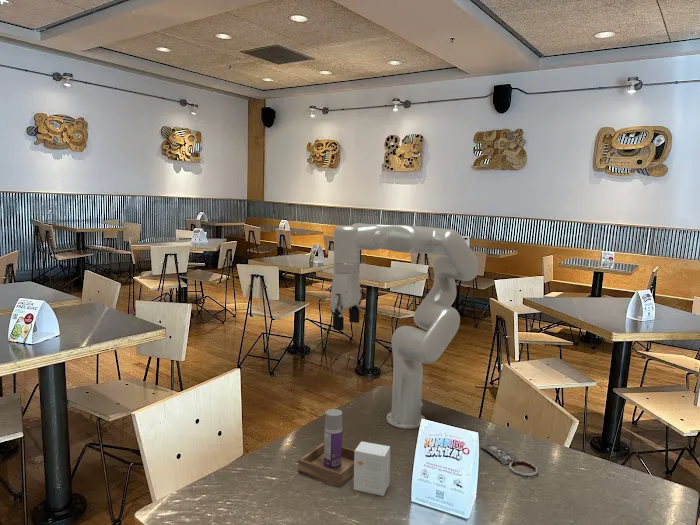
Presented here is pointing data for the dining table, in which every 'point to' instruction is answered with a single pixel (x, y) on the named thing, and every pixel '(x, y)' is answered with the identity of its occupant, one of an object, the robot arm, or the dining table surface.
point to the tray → (315, 468)
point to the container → (333, 439)
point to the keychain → (510, 460)
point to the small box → (371, 468)
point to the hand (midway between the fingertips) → (346, 325)
